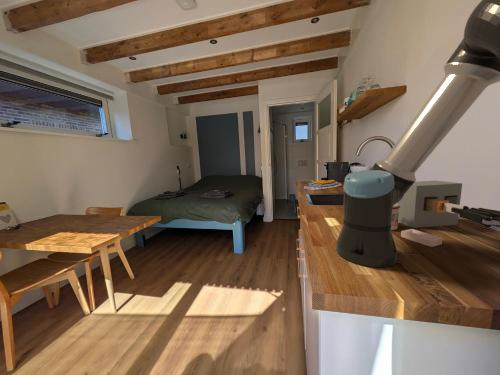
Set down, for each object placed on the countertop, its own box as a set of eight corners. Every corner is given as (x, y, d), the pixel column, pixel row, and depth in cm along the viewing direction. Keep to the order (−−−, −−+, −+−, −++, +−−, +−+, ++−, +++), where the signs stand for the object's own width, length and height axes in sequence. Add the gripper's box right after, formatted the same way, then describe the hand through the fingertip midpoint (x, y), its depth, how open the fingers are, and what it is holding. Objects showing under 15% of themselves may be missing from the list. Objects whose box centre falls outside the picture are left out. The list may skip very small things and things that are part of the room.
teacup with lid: (393, 232, 71) (395, 200, 70) (366, 226, 78) (367, 197, 77) (404, 224, 79) (406, 195, 77) (378, 219, 86) (379, 193, 84)
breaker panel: (414, 228, 75) (417, 186, 72) (392, 219, 85) (395, 182, 83) (458, 225, 76) (463, 183, 74) (432, 217, 86) (435, 180, 84)
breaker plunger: (437, 212, 70) (438, 201, 69) (412, 205, 80) (412, 195, 79) (447, 211, 70) (448, 200, 70) (421, 205, 80) (422, 195, 79)
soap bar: (430, 248, 60) (431, 240, 59) (400, 237, 68) (400, 230, 68) (442, 245, 61) (443, 237, 61) (411, 234, 70) (411, 228, 70)
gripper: (522, 248, 46) (426, 218, 70) (572, 244, 47) (461, 216, 70) (527, 216, 45) (428, 197, 69) (579, 213, 46) (464, 195, 69)
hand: (445, 206), depth 70 cm, fingers closed
